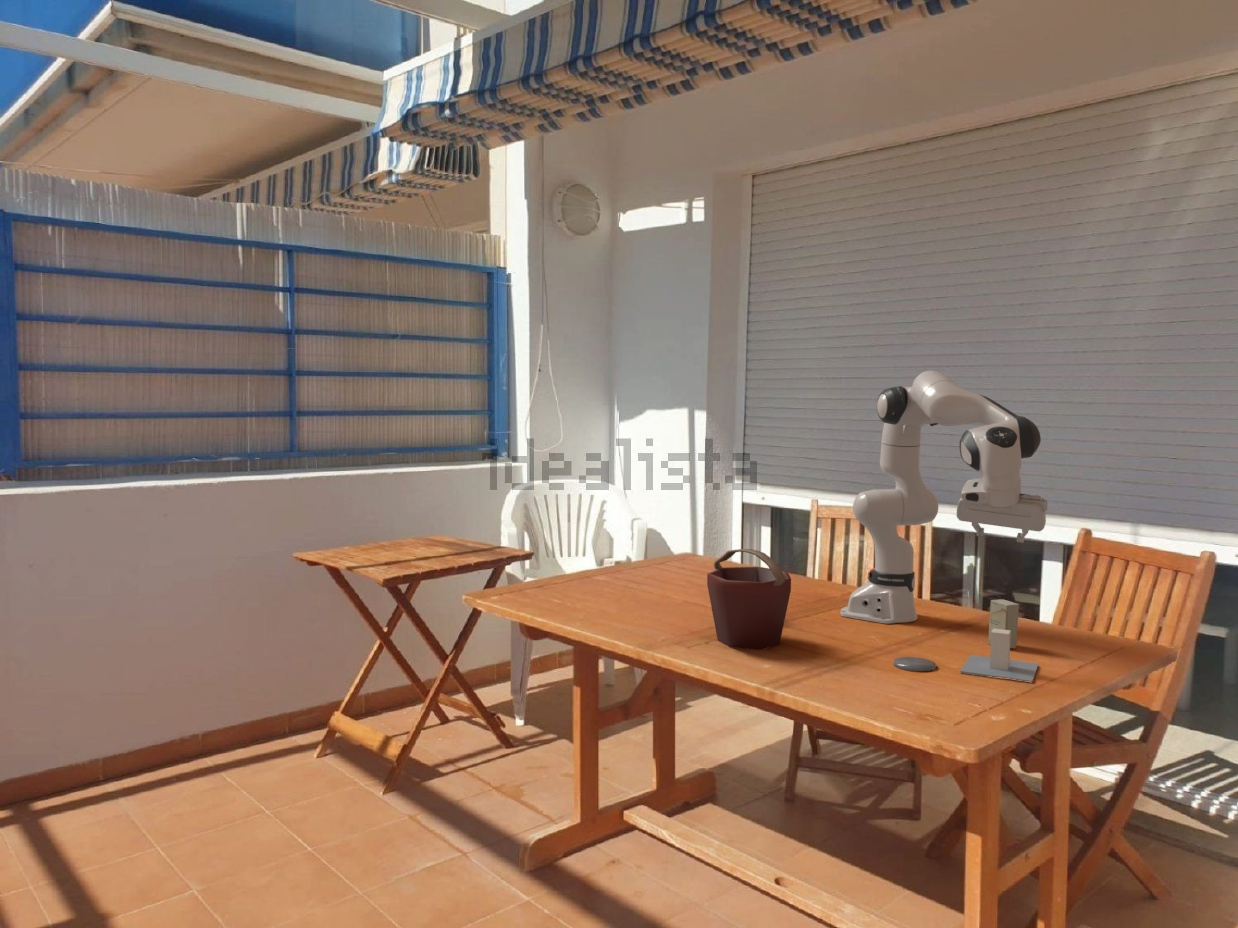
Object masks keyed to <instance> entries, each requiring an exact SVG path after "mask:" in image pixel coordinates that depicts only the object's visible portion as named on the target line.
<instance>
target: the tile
mask: <svg viewBox="0 0 1238 928" xmlns="http://www.w3.org/2000/svg"><path fill="white" fill-rule="evenodd" d="M1037 667H1038V668H1039V663H1037V662H1028V661H1020V660H1015V659H1014V660H1013V659H1010V664H1009V668H1008V670H1000V669H993V668H990V656H985V655H984V656H983V655H982V656H981V655H975V654H970V655H969V657H968V658H967V660H966V661H965V663H964V665H963V666H962V668H961V669H960V671H959V672H961V673H966V674H965V675H968V673H969V674H974V675H973V676H975V675H981V676H980V677H982V676H992V677H1002V678H1010V679H1016V680H1022V681H1031V682H1032V681H1033V682H1034V680H1033V679H1035V677H1036V674H1037V671H1038V668H1037ZM1036 670H1037V671H1036ZM961 673H960V674H961ZM1035 673H1036V674H1035ZM1034 676H1035V677H1034Z"/></svg>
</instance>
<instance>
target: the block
mask: <svg viewBox="0 0 1238 928" xmlns="http://www.w3.org/2000/svg"><path fill="white" fill-rule="evenodd" d="M1010 636H1011V630H1002V629H994V628H993V630H992V631H991V645H990V651H989V652H990V653H989V654H990V655H989V657H990V668H993V669H1000V670H1008V668H1009V664H1010V660H1011V659H1010V658H1011V657H1010V656H1011V649H1010Z"/></svg>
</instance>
